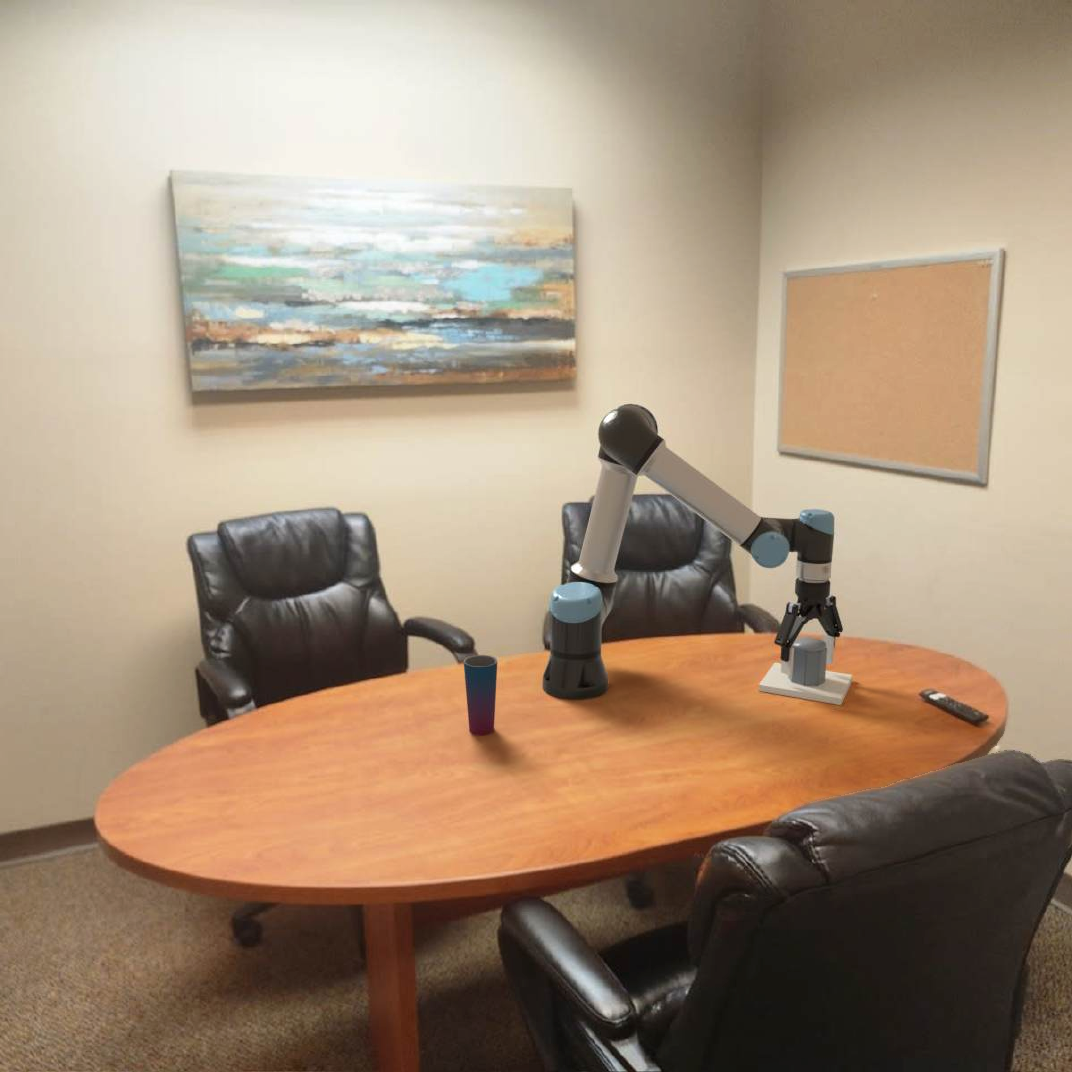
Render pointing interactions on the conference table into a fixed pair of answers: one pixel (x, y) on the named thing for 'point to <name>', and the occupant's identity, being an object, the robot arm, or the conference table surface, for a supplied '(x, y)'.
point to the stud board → (826, 692)
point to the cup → (481, 692)
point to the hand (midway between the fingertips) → (807, 668)
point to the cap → (809, 661)
